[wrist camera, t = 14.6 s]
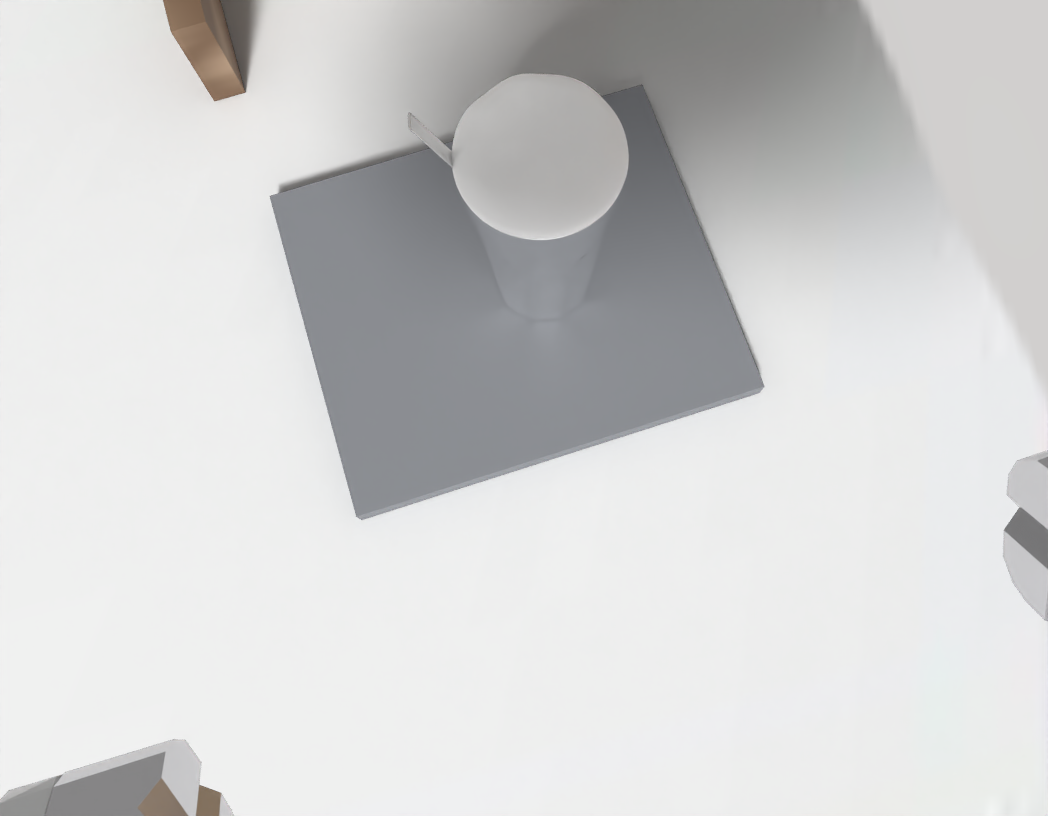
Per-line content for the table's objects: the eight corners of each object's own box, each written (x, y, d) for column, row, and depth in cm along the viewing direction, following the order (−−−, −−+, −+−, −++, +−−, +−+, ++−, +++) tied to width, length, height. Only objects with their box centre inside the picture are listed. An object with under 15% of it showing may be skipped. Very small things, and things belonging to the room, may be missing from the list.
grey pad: (361, 520, 30) (356, 516, 29) (276, 206, 33) (269, 195, 32) (758, 392, 30) (764, 386, 30) (639, 97, 33) (642, 84, 32)
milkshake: (450, 222, 31) (405, 36, 22) (604, 213, 31) (627, 21, 22) (455, 346, 30) (409, 207, 20) (614, 336, 30) (643, 192, 20)
